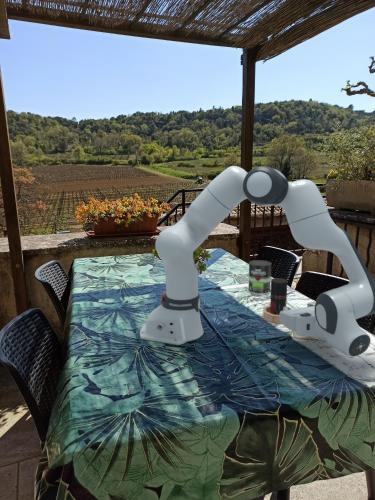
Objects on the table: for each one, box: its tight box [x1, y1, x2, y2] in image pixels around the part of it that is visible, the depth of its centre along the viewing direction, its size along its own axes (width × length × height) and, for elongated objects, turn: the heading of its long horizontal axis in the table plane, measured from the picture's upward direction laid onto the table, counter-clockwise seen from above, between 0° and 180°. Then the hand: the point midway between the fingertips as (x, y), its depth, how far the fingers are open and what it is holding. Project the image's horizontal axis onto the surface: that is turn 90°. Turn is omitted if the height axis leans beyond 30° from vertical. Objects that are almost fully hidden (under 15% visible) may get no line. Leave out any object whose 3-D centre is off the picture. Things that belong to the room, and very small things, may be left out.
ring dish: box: [262, 304, 293, 325], centre depth 131 cm, size 11×11×3 cm
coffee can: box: [248, 259, 272, 296], centre depth 160 cm, size 10×10×14 cm
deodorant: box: [269, 277, 288, 315], centre depth 130 cm, size 6×6×15 cm
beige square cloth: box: [291, 330, 323, 341], centre depth 119 cm, size 12×12×1 cm
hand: (297, 306), depth 118 cm, fingers open, 8 cm apart
